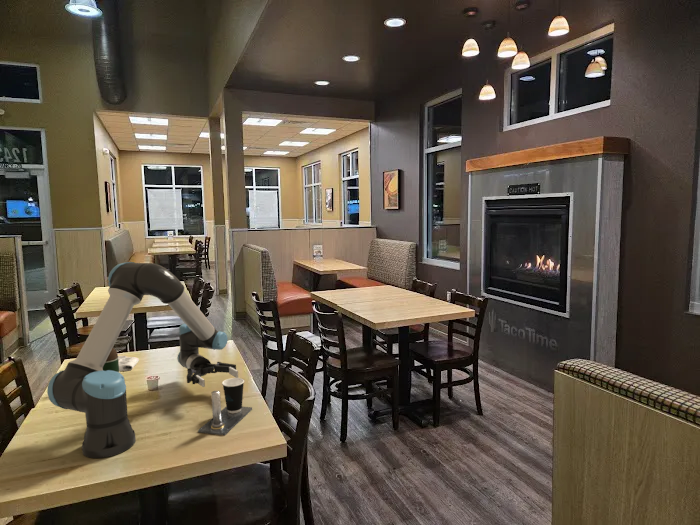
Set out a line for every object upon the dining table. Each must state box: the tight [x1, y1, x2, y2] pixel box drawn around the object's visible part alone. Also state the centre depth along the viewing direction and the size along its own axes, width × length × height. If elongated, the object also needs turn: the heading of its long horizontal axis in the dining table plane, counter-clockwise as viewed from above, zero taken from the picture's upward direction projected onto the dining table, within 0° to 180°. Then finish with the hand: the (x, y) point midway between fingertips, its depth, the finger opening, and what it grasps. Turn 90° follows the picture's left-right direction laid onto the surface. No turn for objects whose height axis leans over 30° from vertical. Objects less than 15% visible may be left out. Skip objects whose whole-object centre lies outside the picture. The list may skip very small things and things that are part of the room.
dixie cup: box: [221, 377, 245, 413], centre depth 168 cm, size 8×8×11 cm
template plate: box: [197, 405, 253, 436], centre depth 163 cm, size 20×10×1 cm, turn 166°
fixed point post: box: [210, 390, 223, 428], centre depth 156 cm, size 4×4×12 cm
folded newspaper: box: [118, 355, 140, 373], centre depth 220 cm, size 3×18×15 cm
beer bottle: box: [103, 347, 120, 373], centre depth 199 cm, size 8×8×24 cm
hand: (221, 378), depth 175 cm, fingers open, 13 cm apart
